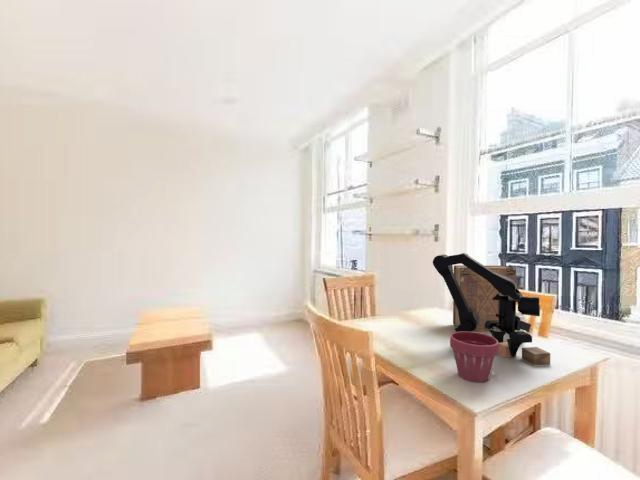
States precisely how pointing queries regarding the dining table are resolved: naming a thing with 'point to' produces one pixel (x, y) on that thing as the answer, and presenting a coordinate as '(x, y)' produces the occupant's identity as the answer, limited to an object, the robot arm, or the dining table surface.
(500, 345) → the cube
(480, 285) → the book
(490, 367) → the plant pot
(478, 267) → the robot arm
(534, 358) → the base block
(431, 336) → the dining table surface
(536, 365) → the gray square frame
